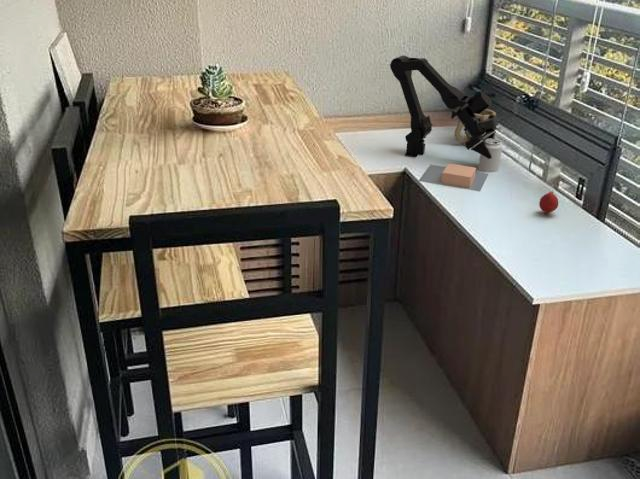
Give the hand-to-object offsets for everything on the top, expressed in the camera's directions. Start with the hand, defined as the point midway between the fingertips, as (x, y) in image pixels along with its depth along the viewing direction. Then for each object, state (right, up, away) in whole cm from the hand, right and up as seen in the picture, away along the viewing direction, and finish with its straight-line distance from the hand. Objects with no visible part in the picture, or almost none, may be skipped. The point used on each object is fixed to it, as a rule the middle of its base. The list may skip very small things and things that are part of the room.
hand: (494, 155), depth 240 cm
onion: (+9, -23, -29) cm, 38 cm away
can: (-1, -6, +4) cm, 7 cm away
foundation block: (-15, -10, -8) cm, 20 cm away
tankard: (-2, +8, +30) cm, 31 cm away
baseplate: (-16, -10, -5) cm, 19 cm away
